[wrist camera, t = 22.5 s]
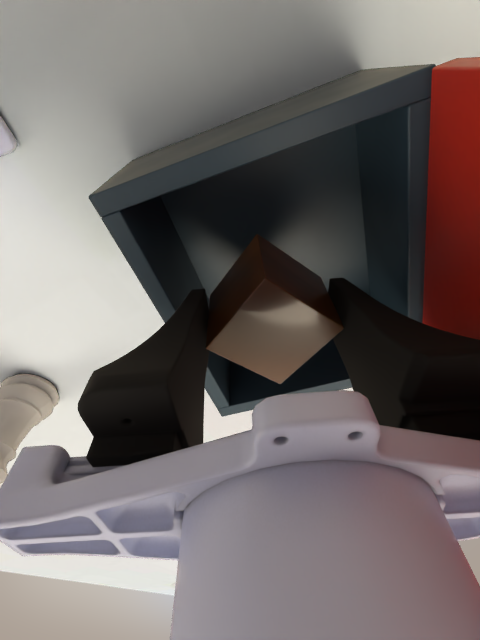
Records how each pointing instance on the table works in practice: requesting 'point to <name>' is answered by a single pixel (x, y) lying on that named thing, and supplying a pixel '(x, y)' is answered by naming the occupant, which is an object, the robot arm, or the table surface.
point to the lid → (454, 200)
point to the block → (270, 313)
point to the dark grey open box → (287, 208)
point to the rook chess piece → (22, 412)
